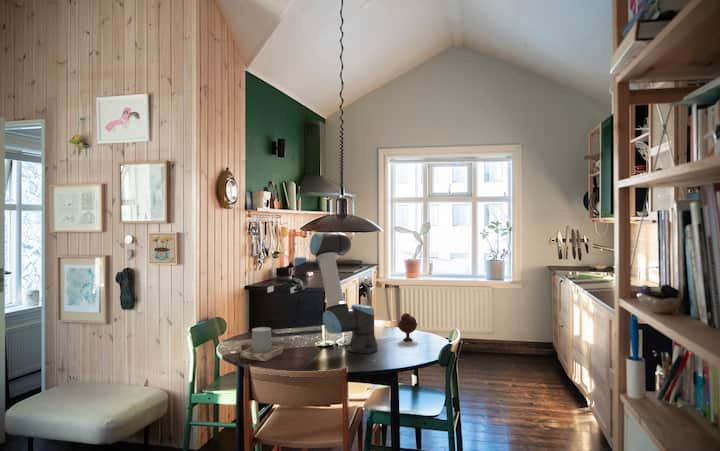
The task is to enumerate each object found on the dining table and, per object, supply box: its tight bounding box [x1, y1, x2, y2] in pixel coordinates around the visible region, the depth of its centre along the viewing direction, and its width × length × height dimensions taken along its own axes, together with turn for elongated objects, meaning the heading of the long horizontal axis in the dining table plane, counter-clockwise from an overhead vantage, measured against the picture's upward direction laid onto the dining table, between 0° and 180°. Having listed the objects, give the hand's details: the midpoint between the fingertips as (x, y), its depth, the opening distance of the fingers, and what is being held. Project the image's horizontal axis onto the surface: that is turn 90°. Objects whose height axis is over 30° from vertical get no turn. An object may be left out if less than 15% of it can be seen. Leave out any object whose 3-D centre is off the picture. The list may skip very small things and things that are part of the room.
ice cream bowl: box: [397, 312, 418, 343], centre depth 270 cm, size 11×11×15 cm
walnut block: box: [240, 342, 252, 352], centre depth 251 cm, size 4×4×4 cm
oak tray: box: [239, 345, 284, 362], centre depth 243 cm, size 15×15×3 cm
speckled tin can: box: [251, 326, 272, 354], centre depth 243 cm, size 10×10×12 cm
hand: (279, 290), depth 262 cm, fingers open, 13 cm apart
